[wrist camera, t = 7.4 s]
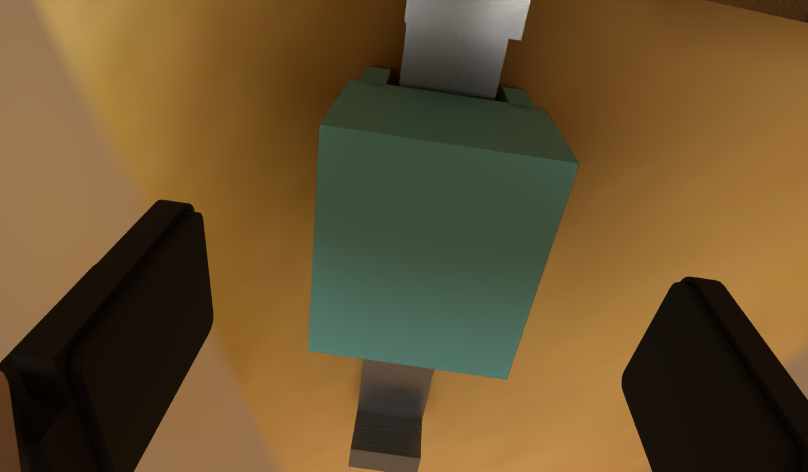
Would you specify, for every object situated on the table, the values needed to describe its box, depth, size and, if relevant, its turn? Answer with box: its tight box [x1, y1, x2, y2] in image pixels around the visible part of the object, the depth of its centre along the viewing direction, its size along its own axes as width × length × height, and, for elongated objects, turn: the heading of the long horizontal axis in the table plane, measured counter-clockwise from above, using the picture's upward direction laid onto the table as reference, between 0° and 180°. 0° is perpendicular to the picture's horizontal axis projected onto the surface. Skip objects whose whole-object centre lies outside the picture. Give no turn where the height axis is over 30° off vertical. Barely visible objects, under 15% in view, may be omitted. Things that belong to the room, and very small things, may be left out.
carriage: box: [308, 66, 579, 379], centre depth 16 cm, size 7×6×6 cm
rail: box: [349, 0, 531, 472], centre depth 19 cm, size 19×3×4 cm, turn 172°
